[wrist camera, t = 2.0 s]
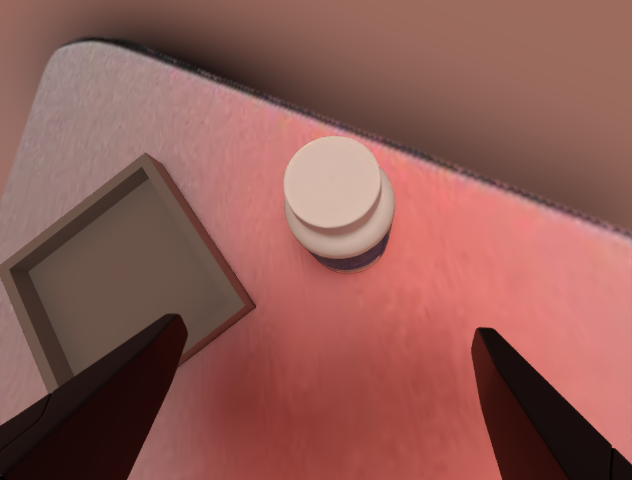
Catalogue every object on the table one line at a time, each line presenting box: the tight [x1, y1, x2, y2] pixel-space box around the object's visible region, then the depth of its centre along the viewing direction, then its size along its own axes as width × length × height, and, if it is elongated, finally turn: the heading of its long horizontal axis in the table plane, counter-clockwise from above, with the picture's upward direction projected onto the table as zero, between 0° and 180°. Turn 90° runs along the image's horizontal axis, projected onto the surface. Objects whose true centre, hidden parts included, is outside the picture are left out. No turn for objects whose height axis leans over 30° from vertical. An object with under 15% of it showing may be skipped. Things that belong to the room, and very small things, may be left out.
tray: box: [0, 152, 256, 393], centre depth 23 cm, size 14×14×2 cm
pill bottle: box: [283, 136, 395, 273], centre depth 18 cm, size 5×5×10 cm
